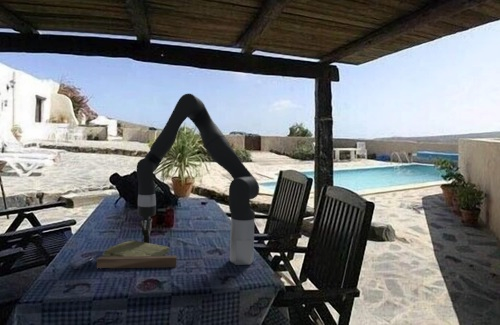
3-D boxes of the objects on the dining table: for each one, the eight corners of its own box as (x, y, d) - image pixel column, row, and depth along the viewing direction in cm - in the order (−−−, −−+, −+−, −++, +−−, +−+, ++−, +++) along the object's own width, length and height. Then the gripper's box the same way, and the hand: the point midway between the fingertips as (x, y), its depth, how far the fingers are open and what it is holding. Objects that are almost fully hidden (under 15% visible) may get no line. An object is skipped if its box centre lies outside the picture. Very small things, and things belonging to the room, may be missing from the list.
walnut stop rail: (176, 266, 138) (176, 257, 138) (97, 268, 134) (96, 259, 134) (176, 264, 141) (176, 255, 140) (98, 266, 136) (98, 257, 136)
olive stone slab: (131, 246, 163) (131, 238, 162) (169, 253, 155) (170, 245, 155) (98, 259, 145) (98, 250, 145) (140, 268, 138) (140, 258, 138)
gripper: (154, 207, 154) (153, 248, 155) (157, 201, 167) (157, 238, 168) (135, 207, 153) (135, 248, 154) (140, 201, 166) (139, 239, 167)
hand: (146, 243), depth 161 cm, fingers closed
